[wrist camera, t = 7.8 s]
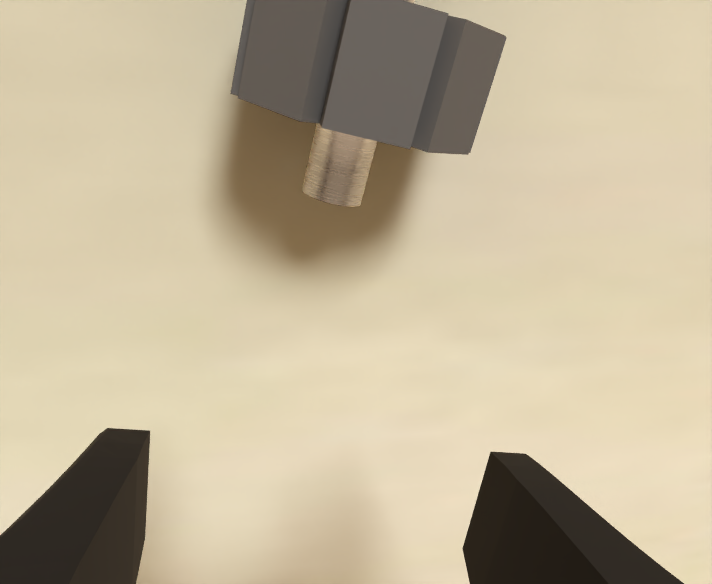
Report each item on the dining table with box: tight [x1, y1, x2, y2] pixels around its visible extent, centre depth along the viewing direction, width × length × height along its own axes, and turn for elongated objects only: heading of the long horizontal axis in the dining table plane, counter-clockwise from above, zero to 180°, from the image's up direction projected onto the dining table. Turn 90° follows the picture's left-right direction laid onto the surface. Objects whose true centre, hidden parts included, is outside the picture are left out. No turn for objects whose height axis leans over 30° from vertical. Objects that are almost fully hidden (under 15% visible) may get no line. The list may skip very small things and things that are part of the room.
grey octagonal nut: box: [231, 0, 506, 154], centre depth 14 cm, size 5×2×5 cm, turn 76°
